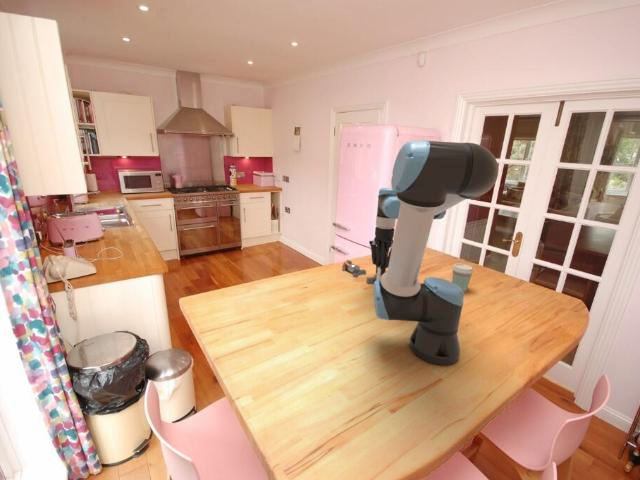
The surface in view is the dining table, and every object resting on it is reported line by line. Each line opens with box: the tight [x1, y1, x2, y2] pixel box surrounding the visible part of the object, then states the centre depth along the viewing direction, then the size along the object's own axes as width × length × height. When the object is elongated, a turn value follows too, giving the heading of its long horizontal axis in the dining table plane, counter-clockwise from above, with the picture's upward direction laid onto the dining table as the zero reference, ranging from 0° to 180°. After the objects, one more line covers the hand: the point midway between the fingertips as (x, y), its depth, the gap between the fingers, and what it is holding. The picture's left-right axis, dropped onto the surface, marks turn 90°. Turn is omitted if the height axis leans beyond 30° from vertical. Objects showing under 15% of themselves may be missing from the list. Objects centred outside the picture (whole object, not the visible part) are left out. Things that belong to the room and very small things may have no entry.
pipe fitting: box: [341, 259, 377, 285], centre depth 143 cm, size 8×26×6 cm, turn 42°
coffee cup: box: [451, 263, 474, 294], centre depth 135 cm, size 8×8×12 cm
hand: (379, 281), depth 126 cm, fingers closed
